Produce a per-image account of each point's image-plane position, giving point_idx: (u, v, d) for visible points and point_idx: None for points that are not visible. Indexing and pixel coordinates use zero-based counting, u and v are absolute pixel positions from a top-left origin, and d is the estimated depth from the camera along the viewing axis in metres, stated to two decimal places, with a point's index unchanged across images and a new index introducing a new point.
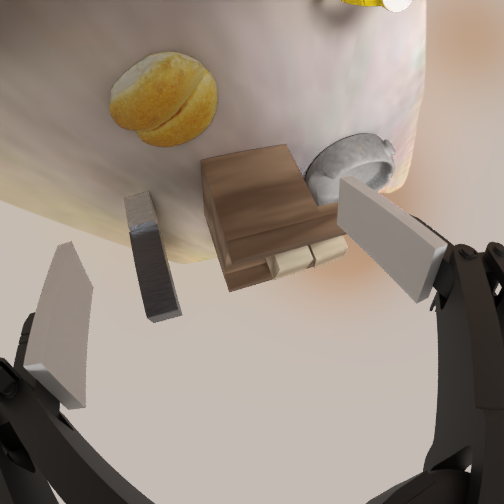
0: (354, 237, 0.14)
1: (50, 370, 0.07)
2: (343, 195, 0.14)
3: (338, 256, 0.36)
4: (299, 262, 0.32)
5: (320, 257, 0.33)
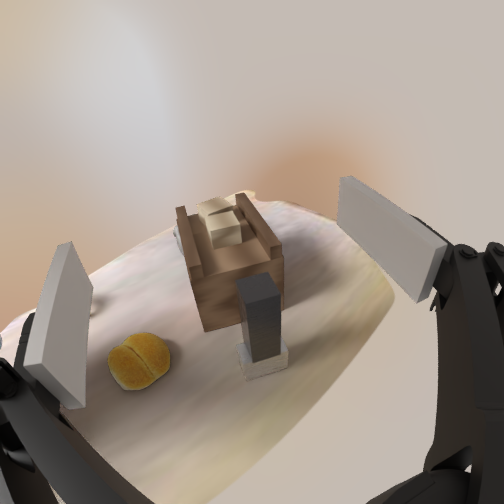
0: (354, 237, 0.14)
1: (50, 370, 0.07)
2: (343, 195, 0.14)
3: (215, 200, 0.45)
4: (207, 223, 0.40)
5: (206, 213, 0.42)
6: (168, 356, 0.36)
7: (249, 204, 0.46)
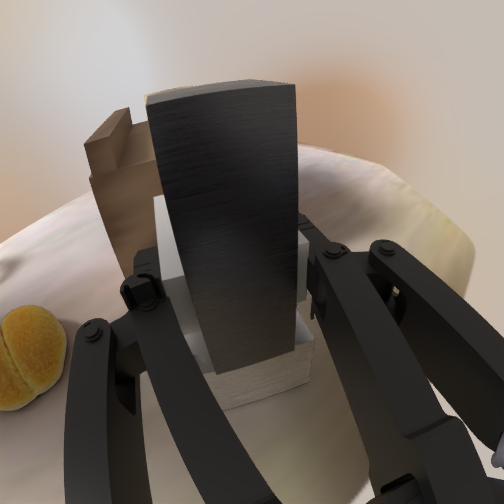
0: None
1: None
2: None
3: (173, 88, 0.24)
4: None
5: None
6: (57, 351, 0.15)
7: None
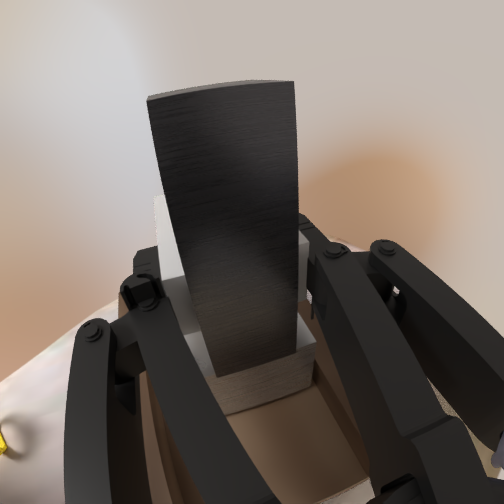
0: None
1: None
2: None
3: None
4: None
5: None
6: None
7: None
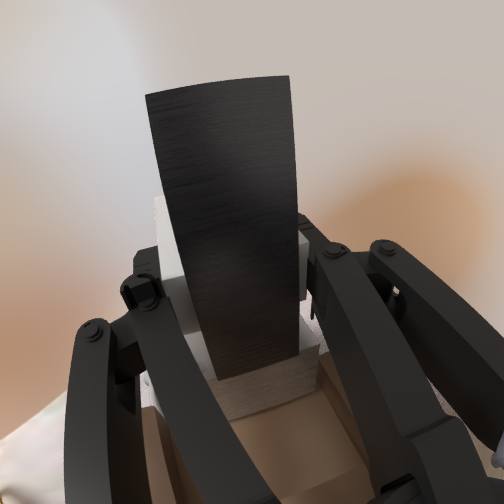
0: None
1: None
2: None
3: None
4: None
5: None
6: None
7: None
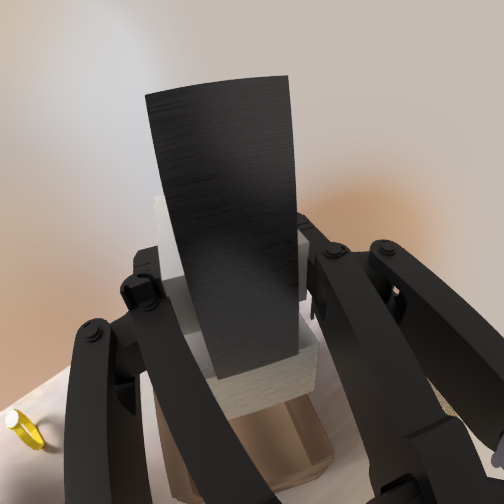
0: None
1: None
2: None
3: None
4: None
5: None
6: None
7: None
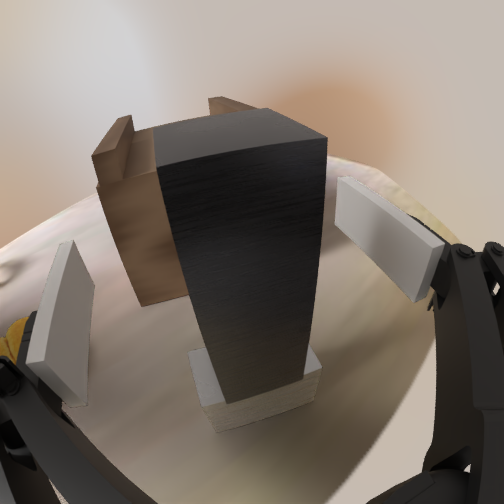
0: (352, 237, 0.14)
1: (52, 368, 0.07)
2: (341, 195, 0.14)
3: None
4: None
5: None
6: None
7: (227, 100, 0.26)
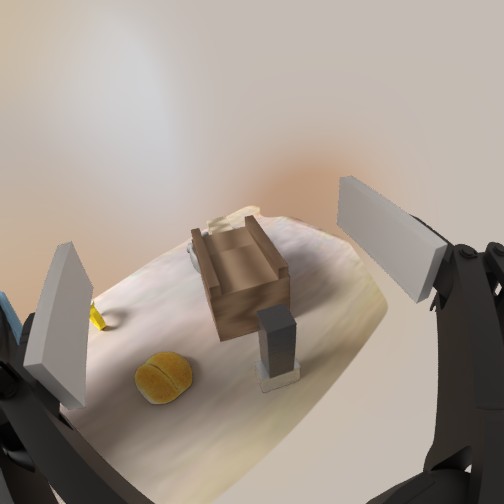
0: (354, 237, 0.14)
1: (50, 370, 0.07)
2: (343, 195, 0.14)
3: None
4: (208, 230, 0.62)
5: None
6: (190, 372, 0.41)
7: (258, 227, 0.51)
